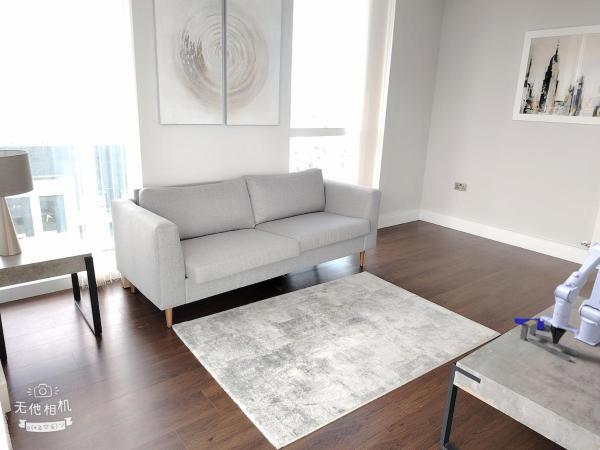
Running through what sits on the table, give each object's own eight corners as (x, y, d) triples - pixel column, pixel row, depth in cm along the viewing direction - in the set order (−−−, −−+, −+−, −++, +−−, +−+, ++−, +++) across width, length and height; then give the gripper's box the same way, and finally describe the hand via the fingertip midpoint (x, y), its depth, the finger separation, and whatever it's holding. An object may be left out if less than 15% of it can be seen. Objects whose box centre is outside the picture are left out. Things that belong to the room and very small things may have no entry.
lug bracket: (530, 334, 190) (533, 318, 188) (534, 336, 188) (538, 320, 186) (519, 339, 185) (522, 323, 183) (524, 341, 183) (527, 325, 181)
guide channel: (536, 337, 187) (537, 333, 187) (577, 356, 174) (578, 351, 173) (527, 342, 183) (527, 338, 183) (568, 361, 169) (569, 357, 169)
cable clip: (544, 328, 191) (544, 327, 196) (543, 318, 192) (543, 317, 197) (515, 328, 197) (515, 327, 202) (514, 318, 198) (514, 317, 203)
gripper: (539, 308, 177) (533, 337, 180) (576, 323, 165) (569, 353, 169) (547, 305, 181) (541, 333, 184) (584, 318, 169) (577, 348, 173)
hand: (555, 342), depth 177 cm, fingers closed
